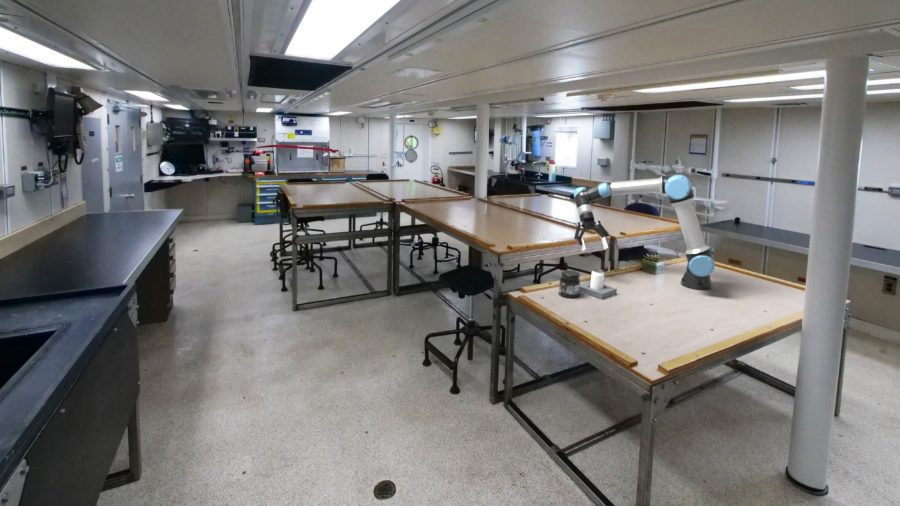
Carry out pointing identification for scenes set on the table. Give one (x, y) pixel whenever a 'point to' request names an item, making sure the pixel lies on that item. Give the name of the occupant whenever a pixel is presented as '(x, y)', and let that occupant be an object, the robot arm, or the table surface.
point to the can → (597, 279)
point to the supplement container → (569, 284)
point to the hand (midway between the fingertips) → (595, 249)
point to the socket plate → (599, 294)
